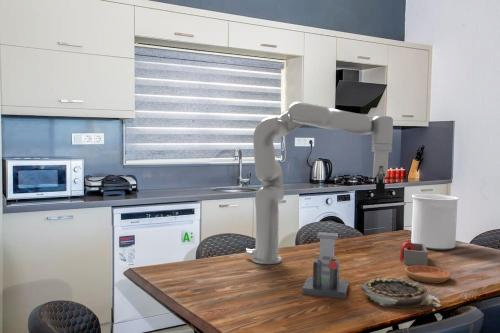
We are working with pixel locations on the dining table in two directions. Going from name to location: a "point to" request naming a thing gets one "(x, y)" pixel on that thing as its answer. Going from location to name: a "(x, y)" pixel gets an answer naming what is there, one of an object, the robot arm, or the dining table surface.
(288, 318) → the dining table surface
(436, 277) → the saucer
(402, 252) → the bracket
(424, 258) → the bracket rest
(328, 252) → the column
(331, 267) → the stand
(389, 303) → the pie
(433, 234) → the bucket
